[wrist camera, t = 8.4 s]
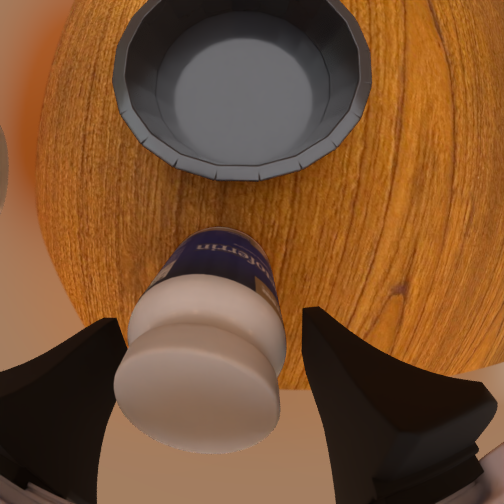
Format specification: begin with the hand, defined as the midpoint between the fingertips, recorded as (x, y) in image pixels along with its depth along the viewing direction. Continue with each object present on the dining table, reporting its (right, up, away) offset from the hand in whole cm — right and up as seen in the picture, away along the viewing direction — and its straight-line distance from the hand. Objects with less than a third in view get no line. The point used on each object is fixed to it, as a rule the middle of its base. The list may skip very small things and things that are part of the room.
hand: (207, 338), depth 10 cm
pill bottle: (0, +2, +6) cm, 6 cm away
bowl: (+1, +12, +2) cm, 12 cm away
